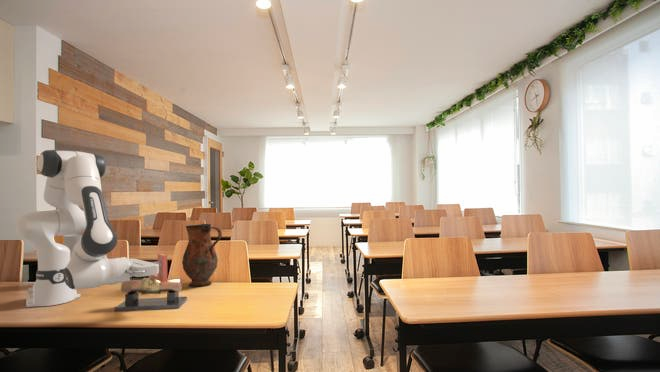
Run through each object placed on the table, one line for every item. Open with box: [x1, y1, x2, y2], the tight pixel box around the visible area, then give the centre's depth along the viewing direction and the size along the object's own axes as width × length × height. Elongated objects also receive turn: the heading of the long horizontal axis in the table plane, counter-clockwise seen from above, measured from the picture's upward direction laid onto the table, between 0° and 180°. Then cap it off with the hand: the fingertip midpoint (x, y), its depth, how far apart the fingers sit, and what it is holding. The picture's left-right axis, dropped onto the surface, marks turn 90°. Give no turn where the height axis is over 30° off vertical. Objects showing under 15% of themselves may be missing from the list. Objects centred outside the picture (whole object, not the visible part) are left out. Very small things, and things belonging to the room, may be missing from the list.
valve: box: [114, 277, 188, 312], centre depth 146 cm, size 24×11×11 cm, turn 96°
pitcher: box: [181, 223, 223, 288], centre depth 178 cm, size 17×21×30 cm
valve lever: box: [148, 252, 169, 282], centre depth 141 cm, size 16×3×11 cm, turn 44°
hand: (159, 263), depth 137 cm, fingers closed
